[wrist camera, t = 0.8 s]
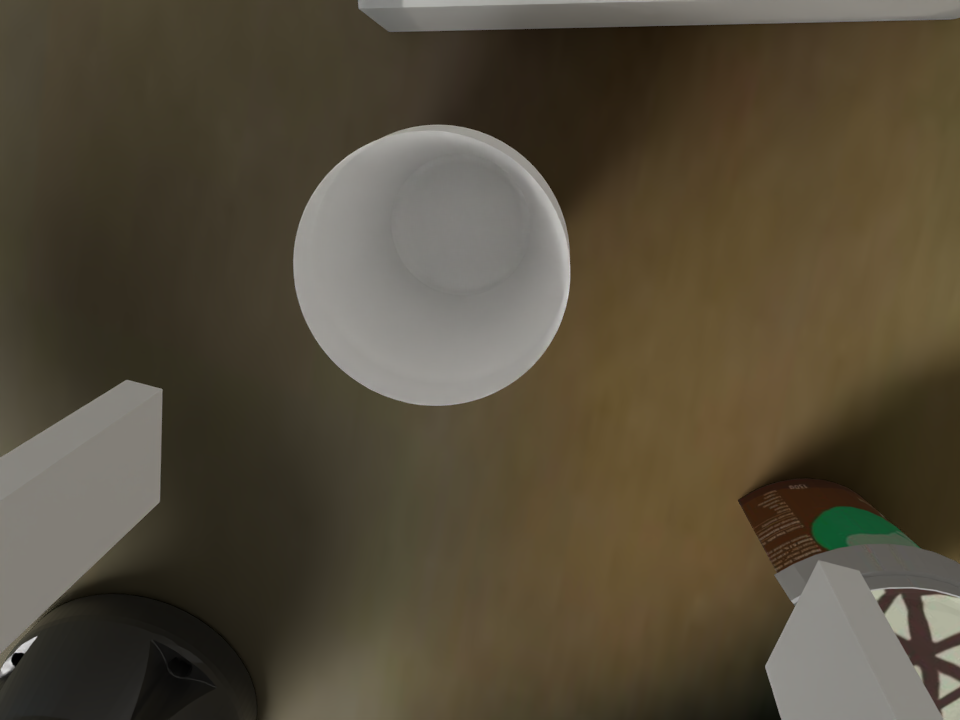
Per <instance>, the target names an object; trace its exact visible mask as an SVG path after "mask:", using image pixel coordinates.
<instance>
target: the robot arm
mask: <svg viewBox="0 0 960 720" xmlns="http://www.w3.org/2000/svg"><path fill="white" fill-rule="evenodd" d="M162 390H163V389H161V388H157V387H153V386H149V385H145V384H142V383H138V382H134V381H130V380H125V381H124V382H122V383H120V384H119V385H117V386H116V387H114V388H112V389H111V390H109V391H107V392H106V393H104V394H103V395H101V396H99V397H98V398H96V399H94V400H93V401H91V402H90V403H88V404H86V405H85V406H83V407H81V408H80V409H78V410H77V411H75V412H73V413H72V414H70V415H68V416H67V417H65V418H64V419H62V420H60V421H59V422H57V423H56V424H54V425H52V426H51V427H49V428H47V429H46V430H44V431H43V432H41V433H39V434H38V435H36V436H34V437H33V438H31V439H30V440H28V441H26V442H25V443H23V444H21V445H20V446H18V447H17V448H15V449H13V450H12V451H10V452H8V453H7V454H5V455H4V456H2V457H0V653H2V652H3V651H4V650H5V649H6V648H7V647H8V646H9V645H10V644H11V643H12V642H13V641H14V640H15V639H16V638H17V637H18V636H19V635H20V634H22V633H23V632H24V631H25V630H26V629H27V628H28V627H29V626H30V625H31V624H32V623H33V622H34V621H35V620H36V619H37V618H38V617H39V616H40V615H42V614H43V613H44V612H45V611H46V610H47V609H48V608H49V607H50V606H51V605H52V604H53V603H54V602H55V601H56V600H57V599H58V598H59V597H60V596H62V595H63V594H64V593H65V592H66V591H67V590H68V589H69V588H70V587H71V586H72V585H73V584H74V583H75V582H76V581H77V580H78V579H79V578H80V577H82V576H83V575H84V574H85V573H86V572H87V571H88V570H89V569H90V568H91V567H92V566H93V565H94V564H95V563H96V562H97V561H98V560H99V559H100V558H102V557H103V556H104V555H105V554H106V553H107V552H108V551H109V550H110V549H111V548H112V547H113V546H114V545H115V544H116V543H117V542H118V541H119V540H121V539H122V538H123V537H124V536H125V535H126V534H127V533H128V532H129V531H130V530H131V529H132V528H133V527H134V526H135V525H136V524H137V523H138V522H139V521H141V520H142V519H143V518H144V517H145V516H146V515H147V514H148V513H149V512H150V511H151V510H152V509H153V508H154V507H155V506H156V505H157V504H158V503H159V502H160V479H161V435H162ZM765 668H766V671H767V674H768V677H769V681H770V684H771V687H772V690H773V694H774V697H775V700H776V703H777V707H778V710H779V713H780V716H781V720H944V719H943V717H942V716H941V714H940V712H939V710H938V709H937V707H936V705H935V703H934V701H933V700H932V698H931V696H930V694H929V693H928V691H927V689H926V687H925V686H924V684H923V682H922V680H921V679H920V677H919V675H918V673H917V672H916V670H915V668H914V666H913V664H912V663H911V661H910V659H909V657H908V656H907V654H906V652H905V650H904V649H903V647H902V645H901V643H900V642H899V640H898V638H897V636H896V635H895V633H894V631H893V629H892V627H891V626H890V624H889V622H888V620H887V619H886V617H885V615H884V613H883V612H882V610H881V608H880V606H879V605H878V603H877V601H876V599H875V597H874V596H873V594H872V592H871V590H870V589H869V587H868V585H867V583H866V582H865V580H864V578H863V576H862V575H861V573H860V571H859V570H855V569H851V568H847V567H843V566H839V565H836V564H832V563H828V562H824V561H820V560H818V562H817V564H816V566H815V568H814V570H813V572H812V574H811V576H810V578H809V580H808V582H807V584H806V586H805V588H804V590H803V592H802V594H801V596H800V598H799V600H798V602H797V604H796V606H795V608H794V610H793V612H792V614H791V616H790V618H789V620H788V622H787V624H786V626H785V628H784V630H783V632H782V634H781V636H780V638H779V640H778V642H777V644H776V646H775V648H774V650H773V652H772V654H771V656H770V658H769V660H768V662H767V664H766V666H765ZM256 717H257V703H256V695H255V691H254V687H253V684H252V681H251V679H250V676H249V674H248V672H247V670H246V668H245V666H244V664H243V663H242V661H241V660H240V658H239V657H238V655H237V654H236V653H235V651H234V650H233V649H232V648H231V647H230V646H229V644H228V643H227V642H226V641H225V640H224V639H223V638H222V637H221V636H220V635H218V634H217V633H216V632H215V631H214V630H213V629H211V628H210V627H209V626H207V625H206V624H205V623H203V622H202V621H200V620H199V619H197V618H195V617H193V616H192V615H190V614H188V613H186V612H184V611H182V610H180V609H178V608H176V607H173V606H171V605H168V604H166V603H163V602H160V601H156V600H153V599H149V598H145V597H139V596H133V595H124V594H103V595H94V596H88V597H83V598H79V599H76V600H73V601H70V602H68V603H65V604H63V605H61V606H59V607H57V608H56V609H54V610H52V611H51V612H49V613H48V614H47V615H46V616H44V617H43V618H42V619H41V620H40V621H39V622H38V623H37V624H36V625H35V626H34V627H33V628H32V629H31V630H30V631H29V632H28V633H27V634H26V635H25V636H24V637H23V638H22V639H21V640H20V642H19V643H18V644H17V645H16V646H15V647H14V648H13V650H12V651H11V652H10V654H9V655H8V657H7V658H6V660H5V662H4V663H3V665H2V667H1V669H0V720H256Z"/></svg>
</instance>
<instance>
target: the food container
mask: <svg viewBox="0 0 960 720" xmlns="http://www.w3.org/2000/svg"><path fill="white" fill-rule="evenodd" d="M738 502H739V504H740V505H741V507H742V509H743V511H744V513H745V515H746V517H747V518H748V520H749V522H750V524H751V526H752V528H753V529H754V531H755V533H756V535H757V537H758V539H759V540H760V542H761V544H762V546H763V548H764V550H765V551H766V553H767V555H768V557H769V559H770V561H771V562H772V564H773V566H774V568H775V570H776V572H777V574H775V577H776V578H777V580H778V581H779V583H780V585H781V586H782V588H783V589H784V591H785V592H786V594H787V596H788V597H789V599H790V600H791V601H792V602H793V603H794V605H795V606H796V604H797V602H798V600H799V598H800V596H801V594H802V592H803V590H804V588H805V586H806V584H807V582H808V580H809V578H810V576H811V574H812V572H813V570H814V568H815V566H816V564H817V562H818V560H820V561H824V562H828V563H832V564H836V565H839V566H843V567H847V568H851V569H855V570H859V571H860V573H861V575H862V576H863V578H864V580H865V582H866V583H867V585H868V587H869V589H870V590H871V592H872V594H873V596H874V597H875V599H876V601H877V603H878V605H879V606H880V608H881V610H882V612H883V613H884V615H885V617H886V619H887V620H888V622H889V624H890V626H891V627H892V629H893V631H894V633H895V635H896V636H897V638H898V640H899V642H900V643H901V645H902V647H903V649H904V650H905V652H906V654H907V656H908V657H909V659H910V661H911V663H912V664H913V666H914V668H915V670H916V672H917V673H918V675H919V677H920V679H921V680H922V682H923V684H924V686H925V687H926V689H927V691H928V693H929V694H930V696H931V698H932V700H933V701H934V703H935V705H936V707H937V709H938V710H939V712H940V714H941V716H942V717H943V719H944V720H960V564H959V563H957V562H956V561H954V560H952V559H949V558H947V557H945V556H942V555H940V554H938V553H935V552H932V551H928V550H924V549H921V548H920V547H919V546H918V545H916V544H915V543H914V542H913V541H912V540H911V539H910V538H908V537H907V536H906V535H905V534H904V533H903V532H901V531H900V530H899V529H898V528H897V527H896V526H895V525H893V524H892V523H891V522H890V521H889V520H888V519H886V518H885V517H884V516H883V515H882V514H881V513H880V512H878V511H877V510H876V509H875V508H874V507H873V506H871V505H870V504H869V503H868V502H867V501H866V500H865V499H863V498H862V497H861V496H860V495H859V494H857V493H855V492H854V491H852V490H851V489H849V488H847V487H845V486H842V485H840V484H838V483H834V482H830V481H826V480H821V479H811V478H805V479H791V480H785V481H779V482H776V483H773V484H770V485H766V486H764V487H762V488H759V489H757V490H755V491H753V492H751V493H749V494H748V495H746V496H744V497H743V498H741V499H740V500H738Z"/></svg>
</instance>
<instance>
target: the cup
mask: <svg viewBox="0 0 960 720" xmlns="http://www.w3.org/2000/svg"><path fill="white" fill-rule="evenodd" d="M293 273H294V282H295V289H296V293H297V298H298V302H299V305H300V308H301V311H302V314H303V316H304V318H305V320H306V323H307V325H308V327H309V329H310V331H311V332H312V334H313V336H314V338H315V339H316V341H317V342H318V344H319V345H320V346H321V348H322V349H323V350H324V352H325V353H326V354H327V355H328V356H329V358H330V359H331V360H332V361H333V362H334V363H335V364H336V365H337V366H338V367H339V368H340V369H342V370H343V371H344V372H345V373H346V374H347V375H349V376H350V377H351V378H353V379H354V380H356V381H357V382H359V383H360V384H362V385H363V386H365V387H367V388H369V389H370V390H372V391H375V392H377V393H379V394H381V395H383V396H386V397H389V398H392V399H395V400H398V401H402V402H406V403H411V404H418V405H428V406H446V405H455V404H461V403H466V402H471V401H474V400H477V399H481V398H484V397H486V396H488V395H491V394H493V393H495V392H497V391H499V390H501V389H503V388H505V387H506V386H508V385H510V384H511V383H513V382H514V381H516V380H517V379H518V378H519V377H521V376H522V375H523V374H524V373H526V372H527V371H528V370H529V369H530V368H531V367H532V366H533V365H534V364H535V363H536V362H537V360H538V359H539V358H540V357H541V356H542V355H543V353H544V352H545V350H546V349H547V347H548V346H549V345H550V343H551V341H552V340H553V338H554V336H555V334H556V332H557V330H558V328H559V325H560V323H561V321H562V318H563V315H564V312H565V308H566V305H567V300H568V295H569V287H570V248H569V238H568V233H567V228H566V223H565V220H564V217H563V214H562V211H561V209H560V206H559V204H558V201H557V199H556V197H555V196H554V194H553V192H552V190H551V188H550V187H549V185H548V184H547V182H546V181H545V179H544V178H543V177H542V175H541V174H540V173H539V172H538V171H537V169H536V168H535V167H534V166H533V165H532V164H531V163H530V162H529V161H528V160H527V159H526V158H525V157H523V156H522V155H521V154H520V153H518V152H517V151H516V150H515V149H513V148H511V147H510V146H508V145H507V144H505V143H504V142H502V141H500V140H498V139H496V138H494V137H492V136H490V135H487V134H485V133H482V132H480V131H476V130H473V129H469V128H465V127H459V126H453V125H423V126H417V127H411V128H407V129H403V130H399V131H397V132H394V133H391V134H389V135H386V136H384V137H382V138H380V139H378V140H376V141H373V142H371V143H369V144H367V145H365V146H363V147H361V148H359V149H358V150H356V151H354V152H353V153H351V154H350V155H348V156H347V157H346V158H344V159H343V160H342V161H341V162H339V163H338V164H337V165H336V166H335V167H334V168H333V169H332V170H331V171H330V172H329V173H328V174H327V175H326V176H325V178H324V179H323V180H322V181H321V182H320V184H319V185H318V186H317V188H316V190H315V191H314V193H313V194H312V196H311V197H310V199H309V201H308V203H307V205H306V207H305V209H304V212H303V214H302V217H301V220H300V223H299V226H298V230H297V234H296V239H295V245H294V256H293Z"/></svg>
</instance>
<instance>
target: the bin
mask: <svg viewBox="0 0 960 720" xmlns="http://www.w3.org/2000/svg"><path fill="white" fill-rule="evenodd" d="M358 9H360V10H361V11H362V12H364V13H365V14H366V15H367V16H369V17H370V18H371V19H373V20H374V21H375V22H377V23H378V24H379V25H380V26H382V27H383V28H384V29H386V30H387V31H388V32H412V31H457V30H502V29H546V28H591V27H636V26H680V25H725V24H770V23H814V22H859V21H904V20H949V19H957V18H960V0H358Z"/></svg>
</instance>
